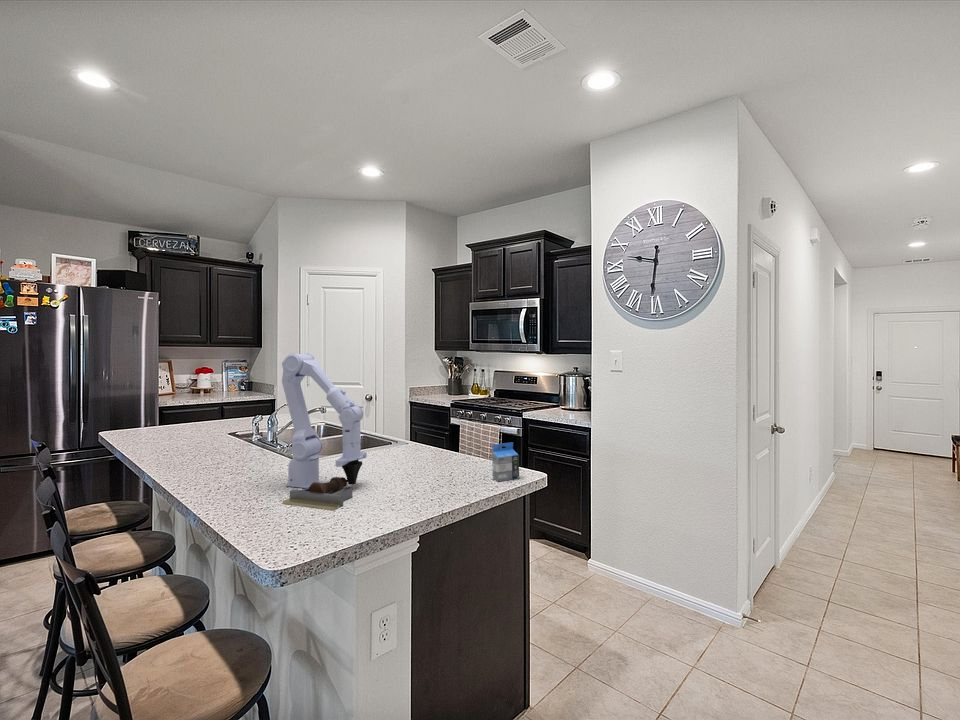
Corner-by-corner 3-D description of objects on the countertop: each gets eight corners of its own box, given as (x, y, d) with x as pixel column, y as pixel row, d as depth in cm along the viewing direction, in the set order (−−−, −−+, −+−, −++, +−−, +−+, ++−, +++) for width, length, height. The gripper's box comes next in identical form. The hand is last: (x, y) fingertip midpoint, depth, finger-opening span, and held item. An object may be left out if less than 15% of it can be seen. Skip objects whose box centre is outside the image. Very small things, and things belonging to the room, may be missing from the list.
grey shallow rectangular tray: (282, 503, 148) (282, 493, 148) (310, 492, 159) (310, 483, 159) (333, 510, 141) (333, 499, 141) (359, 498, 153) (359, 488, 153)
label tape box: (498, 482, 171) (498, 446, 171) (492, 479, 175) (491, 444, 175) (519, 478, 176) (519, 443, 176) (513, 476, 179) (512, 442, 179)
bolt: (346, 493, 165) (317, 504, 151) (334, 484, 166) (305, 495, 152) (353, 478, 164) (325, 488, 150) (342, 469, 165) (313, 479, 151)
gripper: (348, 447, 156) (349, 490, 157) (374, 439, 170) (374, 479, 170) (329, 446, 159) (330, 488, 159) (356, 438, 172) (356, 478, 173)
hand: (351, 484), depth 165 cm, fingers closed
